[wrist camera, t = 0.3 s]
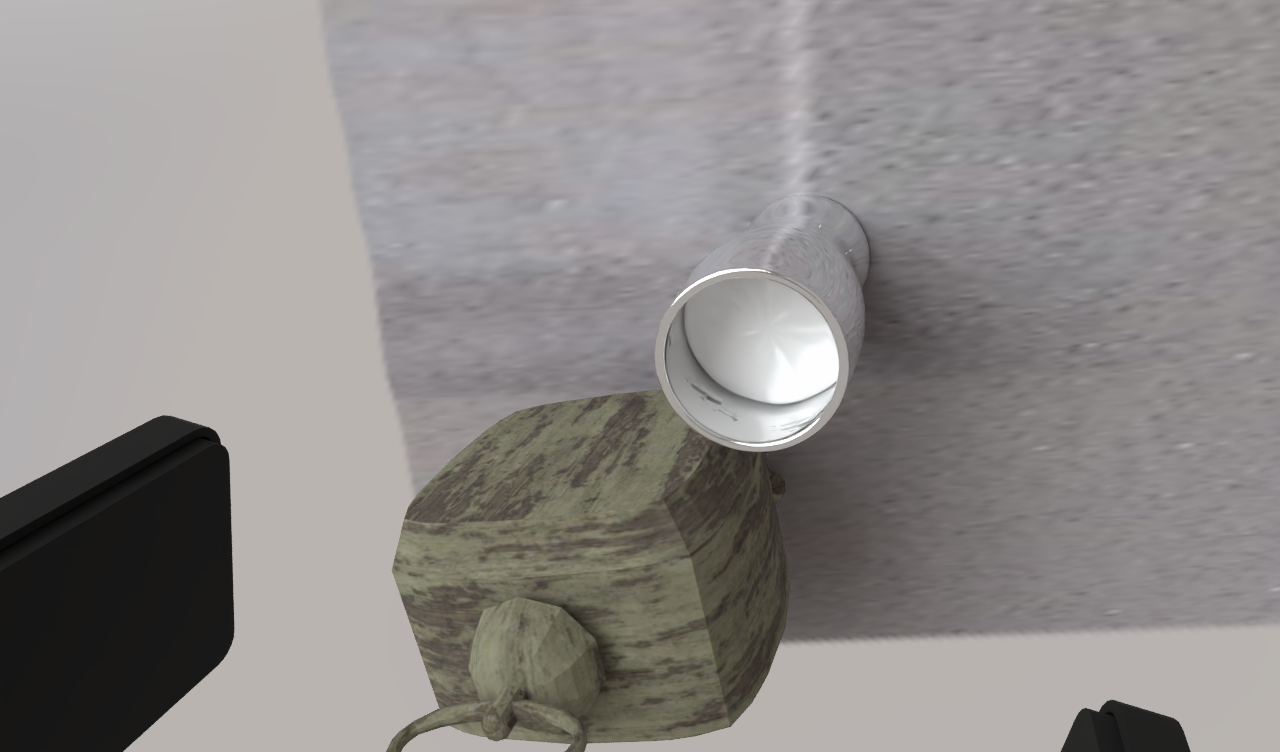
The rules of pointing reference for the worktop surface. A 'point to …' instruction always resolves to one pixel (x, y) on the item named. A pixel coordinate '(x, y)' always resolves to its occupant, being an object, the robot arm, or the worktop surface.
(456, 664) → the tabletop clock
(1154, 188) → the worktop surface
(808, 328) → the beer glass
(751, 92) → the worktop surface
